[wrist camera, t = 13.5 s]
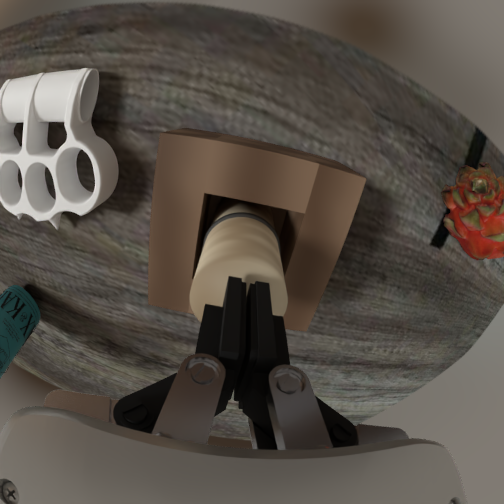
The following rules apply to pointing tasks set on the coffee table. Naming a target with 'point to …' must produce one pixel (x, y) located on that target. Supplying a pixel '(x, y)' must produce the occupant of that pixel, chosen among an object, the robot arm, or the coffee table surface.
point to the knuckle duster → (41, 155)
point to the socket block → (253, 190)
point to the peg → (239, 255)
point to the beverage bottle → (15, 322)
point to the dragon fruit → (476, 211)
